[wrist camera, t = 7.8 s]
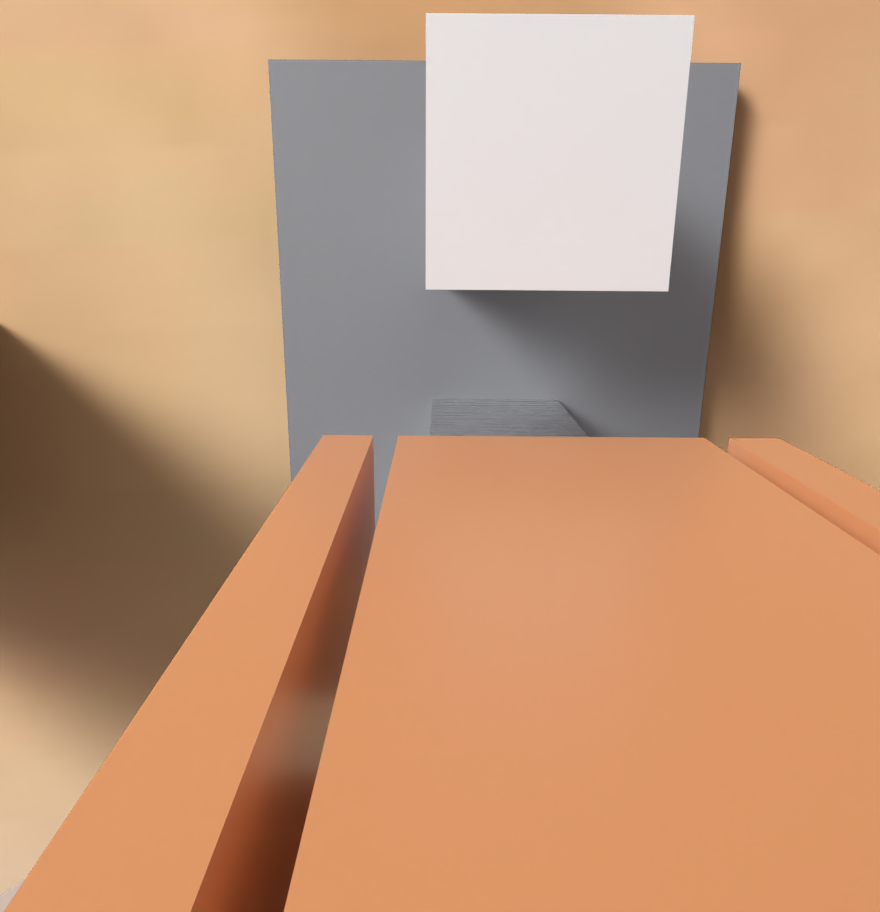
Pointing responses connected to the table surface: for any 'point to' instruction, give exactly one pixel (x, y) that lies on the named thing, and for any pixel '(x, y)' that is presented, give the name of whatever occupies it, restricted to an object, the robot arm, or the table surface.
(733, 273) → the table surface
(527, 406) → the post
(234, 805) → the orange block
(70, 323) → the table surface
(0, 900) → the robot arm
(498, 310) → the post base
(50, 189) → the table surface
